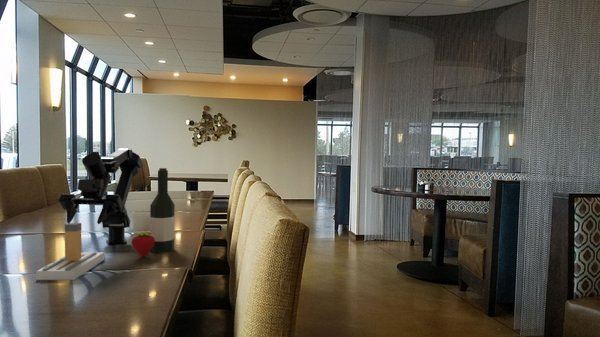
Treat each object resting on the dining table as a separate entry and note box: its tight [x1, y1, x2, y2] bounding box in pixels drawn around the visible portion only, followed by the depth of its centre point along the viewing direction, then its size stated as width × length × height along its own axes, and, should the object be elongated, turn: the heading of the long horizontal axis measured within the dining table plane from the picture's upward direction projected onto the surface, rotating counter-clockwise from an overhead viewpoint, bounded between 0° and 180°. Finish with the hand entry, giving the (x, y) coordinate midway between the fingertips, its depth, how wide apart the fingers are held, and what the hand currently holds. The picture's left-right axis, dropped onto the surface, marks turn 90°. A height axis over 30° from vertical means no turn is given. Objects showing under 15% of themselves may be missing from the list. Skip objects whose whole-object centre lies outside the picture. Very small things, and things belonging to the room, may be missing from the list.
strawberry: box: [131, 228, 155, 258], centre depth 134 cm, size 6×8×10 cm
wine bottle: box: [149, 167, 176, 254], centre depth 143 cm, size 8×8×30 cm
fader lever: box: [64, 222, 82, 261], centre depth 119 cm, size 3×4×11 cm
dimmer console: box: [36, 251, 105, 281], centre depth 119 cm, size 20×10×3 cm, turn 5°
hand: (83, 223), depth 125 cm, fingers open, 9 cm apart
